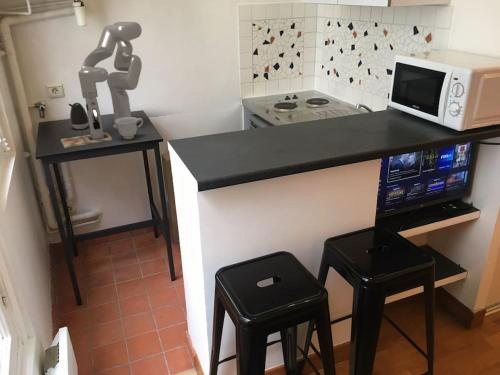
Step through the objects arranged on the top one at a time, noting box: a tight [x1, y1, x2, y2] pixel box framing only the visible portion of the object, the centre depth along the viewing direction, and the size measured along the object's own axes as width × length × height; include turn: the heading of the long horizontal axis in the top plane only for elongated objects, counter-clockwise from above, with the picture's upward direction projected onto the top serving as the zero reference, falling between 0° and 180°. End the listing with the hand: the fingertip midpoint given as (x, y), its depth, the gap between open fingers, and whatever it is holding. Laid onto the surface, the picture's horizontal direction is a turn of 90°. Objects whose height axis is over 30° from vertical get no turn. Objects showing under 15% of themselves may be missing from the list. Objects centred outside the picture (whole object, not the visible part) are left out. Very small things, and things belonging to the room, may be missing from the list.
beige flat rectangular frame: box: [60, 131, 113, 149], centre depth 227 cm, size 24×12×1 cm, turn 119°
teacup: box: [114, 116, 144, 140], centre depth 229 cm, size 12×15×10 cm
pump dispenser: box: [68, 102, 89, 130], centre depth 246 cm, size 10×10×15 cm
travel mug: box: [85, 103, 105, 141], centre depth 225 cm, size 6×7×20 cm
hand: (95, 127), depth 227 cm, fingers closed on travel mug, 6 cm apart
